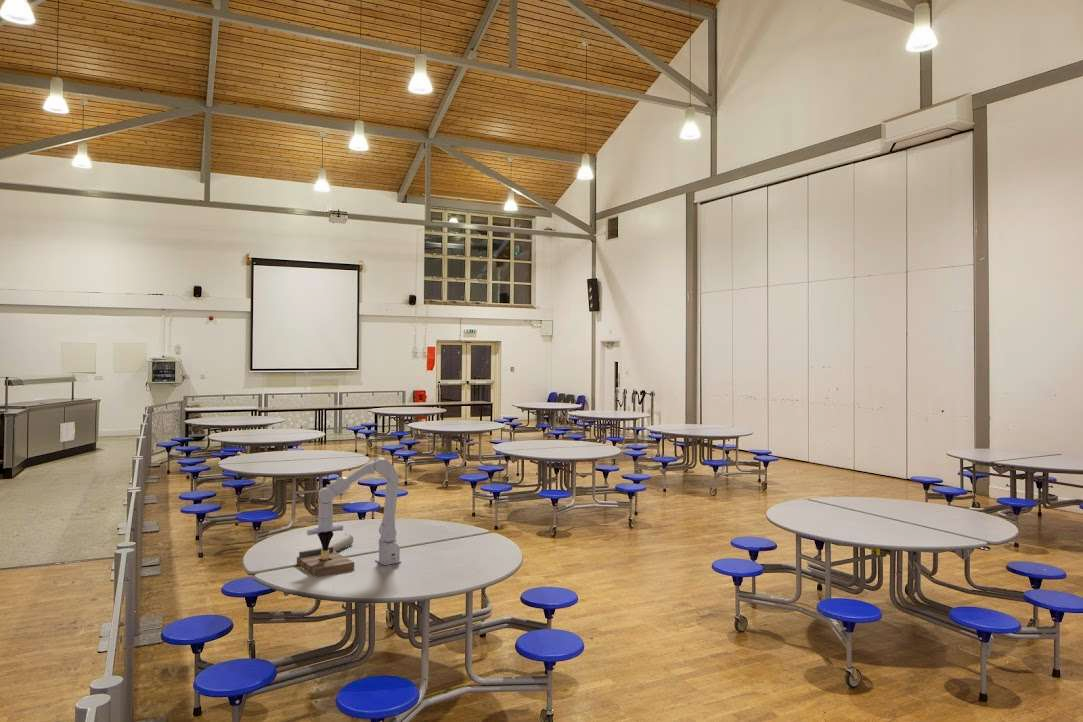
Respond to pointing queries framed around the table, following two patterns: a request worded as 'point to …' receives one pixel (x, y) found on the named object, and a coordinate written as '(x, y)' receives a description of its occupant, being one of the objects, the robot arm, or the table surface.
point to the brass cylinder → (324, 555)
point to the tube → (341, 542)
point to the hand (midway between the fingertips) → (325, 550)
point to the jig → (317, 568)
